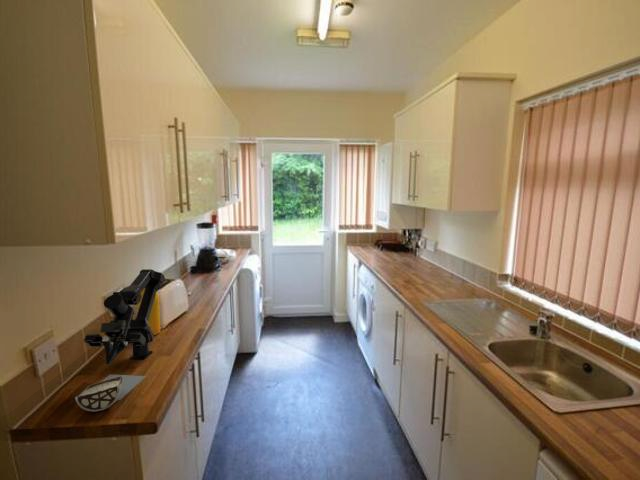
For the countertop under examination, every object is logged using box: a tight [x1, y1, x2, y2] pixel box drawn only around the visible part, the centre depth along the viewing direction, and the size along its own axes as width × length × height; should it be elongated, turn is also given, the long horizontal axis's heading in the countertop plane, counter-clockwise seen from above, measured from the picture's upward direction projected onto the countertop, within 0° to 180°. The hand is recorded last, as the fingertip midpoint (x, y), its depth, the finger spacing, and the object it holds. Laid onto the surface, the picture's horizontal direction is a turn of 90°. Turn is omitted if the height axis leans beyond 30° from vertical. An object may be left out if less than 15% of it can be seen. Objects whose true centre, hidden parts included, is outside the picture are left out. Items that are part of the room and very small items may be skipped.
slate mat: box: [101, 374, 147, 402], centre depth 117 cm, size 15×14×1 cm
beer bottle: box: [137, 288, 161, 336], centre depth 163 cm, size 9×9×29 cm
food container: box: [74, 376, 122, 412], centre depth 107 cm, size 12×6×10 cm
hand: (107, 364), depth 115 cm, fingers closed
